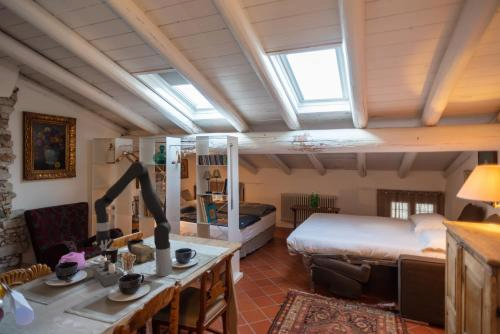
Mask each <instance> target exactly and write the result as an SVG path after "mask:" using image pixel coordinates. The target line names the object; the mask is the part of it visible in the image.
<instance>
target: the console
mask: <svg viewBox="0 0 500 334" xmlns="http://www.w3.org/2000/svg"><path fill="white" fill-rule="evenodd" d="M111 264H112V263H111ZM123 275H124V271H123V270H121V269H120V268H118V266H116V265H115V274H113V275H109V271H106V272H105V267H104V268H101V264H99V265H95V266H92V276H93V278H94V279H95V280H96V281H97V282H99V284H100V285H101V286H102V287H104V288H108V287H111V286H114V285H119V283H118V279H119V278H120V277H121V276H123Z"/></svg>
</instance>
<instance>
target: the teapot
mask: <svg viewBox="0 0 500 334" xmlns="http://www.w3.org/2000/svg"><path fill="white" fill-rule="evenodd" d="M85 254H86V253H85V251H81V252H74V251H71V252H69V253H67V254H65V255H62V256H61V258H60V259H59V260H58V265H59V264H60V263H65V262H77V263H78V270H81V271H83V268H85V266H86V259H85Z"/></svg>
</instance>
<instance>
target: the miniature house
mask: <svg viewBox="0 0 500 334" xmlns="http://www.w3.org/2000/svg"><path fill="white" fill-rule="evenodd" d="M155 252H156V249H155V247H154V248H153V247H151V245H147V244H143V243H140V242H138V243H135V244H132V245H130V254H131V253H132V254H134V255H136V260H135V262H134V263H136V265H139V264H140V265H143V264H146V263H149V262H154V261H156V256H155Z"/></svg>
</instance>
